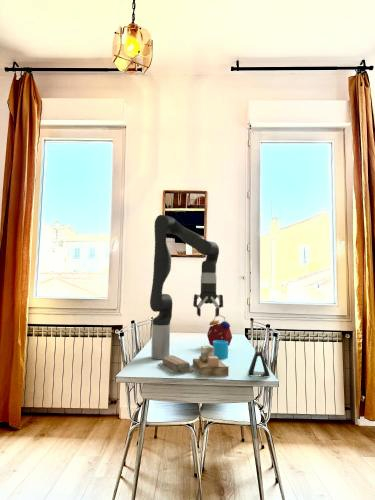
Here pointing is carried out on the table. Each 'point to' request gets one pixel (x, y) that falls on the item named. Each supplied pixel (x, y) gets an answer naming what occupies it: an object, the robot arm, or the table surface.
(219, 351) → the mug
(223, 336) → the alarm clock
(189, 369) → the packaged product
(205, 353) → the tan block
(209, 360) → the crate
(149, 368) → the table surface
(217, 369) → the dock
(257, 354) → the dark a-shaped stand
